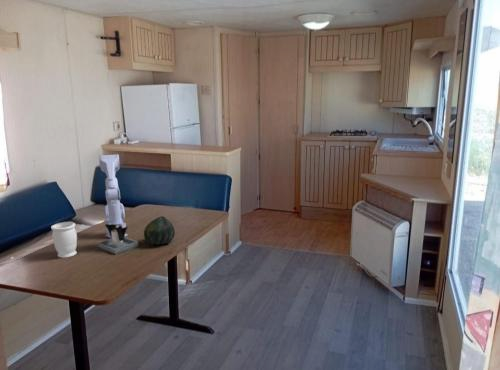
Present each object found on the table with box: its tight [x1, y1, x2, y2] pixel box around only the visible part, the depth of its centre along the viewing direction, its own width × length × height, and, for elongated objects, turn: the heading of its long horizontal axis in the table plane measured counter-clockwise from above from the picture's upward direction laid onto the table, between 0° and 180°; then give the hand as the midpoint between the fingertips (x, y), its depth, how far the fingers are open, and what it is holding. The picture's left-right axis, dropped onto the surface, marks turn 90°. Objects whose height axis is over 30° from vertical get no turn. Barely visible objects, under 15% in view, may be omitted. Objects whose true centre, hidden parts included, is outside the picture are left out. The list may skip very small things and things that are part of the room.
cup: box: [111, 229, 123, 248], centre depth 198 cm, size 5×5×8 cm
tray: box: [97, 236, 139, 255], centre depth 199 cm, size 15×13×2 cm
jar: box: [50, 221, 78, 259], centre depth 190 cm, size 11×10×15 cm
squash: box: [143, 216, 176, 246], centre depth 202 cm, size 14×15×15 cm
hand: (117, 238), depth 198 cm, fingers open, 7 cm apart
